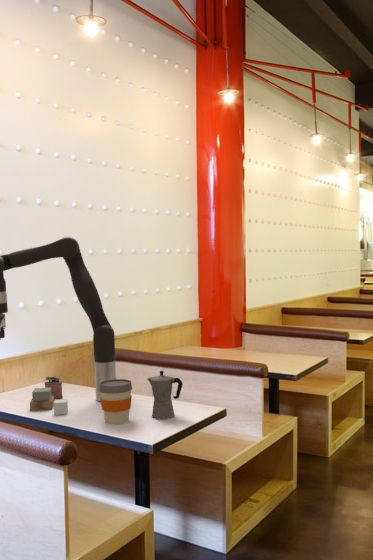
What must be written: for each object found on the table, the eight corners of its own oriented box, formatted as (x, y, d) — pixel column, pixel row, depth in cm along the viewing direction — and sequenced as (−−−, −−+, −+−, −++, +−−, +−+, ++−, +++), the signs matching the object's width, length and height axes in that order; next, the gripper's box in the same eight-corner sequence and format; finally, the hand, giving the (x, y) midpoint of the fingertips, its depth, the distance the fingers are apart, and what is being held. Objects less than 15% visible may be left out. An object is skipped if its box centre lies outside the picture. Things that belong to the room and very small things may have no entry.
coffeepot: (142, 418, 219) (141, 372, 218) (153, 411, 228) (152, 367, 227) (178, 421, 213) (176, 374, 212) (188, 414, 221) (186, 369, 221)
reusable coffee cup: (127, 426, 209) (126, 386, 208) (95, 425, 211) (94, 386, 211) (137, 416, 221) (135, 379, 220) (107, 416, 224) (105, 378, 223)
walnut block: (54, 404, 245) (54, 395, 245) (52, 410, 236) (51, 400, 236) (33, 406, 244) (33, 397, 244) (30, 411, 235) (29, 402, 235)
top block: (67, 411, 233) (67, 399, 233) (66, 414, 228) (66, 402, 228) (55, 411, 233) (55, 399, 232) (54, 415, 228) (53, 403, 228)
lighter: (63, 397, 257) (62, 375, 257) (61, 399, 254) (60, 377, 253) (46, 397, 258) (45, 375, 257) (44, 399, 254) (43, 377, 254)
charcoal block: (51, 396, 244) (51, 387, 244) (49, 400, 237) (49, 391, 237) (35, 397, 243) (34, 388, 243) (32, 401, 236) (32, 392, 236)
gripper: (3, 303, 237) (5, 341, 237) (10, 300, 251) (11, 336, 251) (-15, 303, 236) (-13, 342, 236) (-7, 301, 250) (-6, 337, 251)
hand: (0, 339), depth 244 cm, fingers open, 8 cm apart
